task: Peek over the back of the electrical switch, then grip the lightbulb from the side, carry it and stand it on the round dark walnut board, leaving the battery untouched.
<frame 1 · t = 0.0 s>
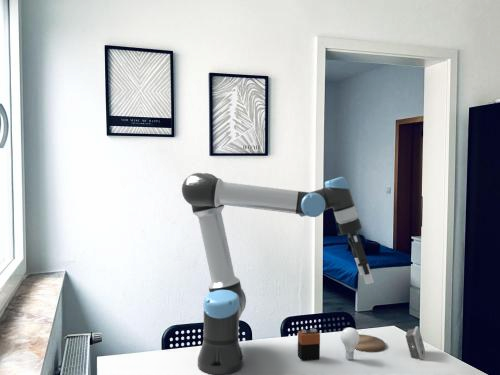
hand: (366, 278, 148), 28 cm above the table, tool tilted 20°, fingers open, 13 cm apart
lightbulb: (349, 360, 147), on the table
battery: (308, 358, 148), on the table
electrical switch: (415, 355, 153), on the table
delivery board: (364, 344, 162), on the table
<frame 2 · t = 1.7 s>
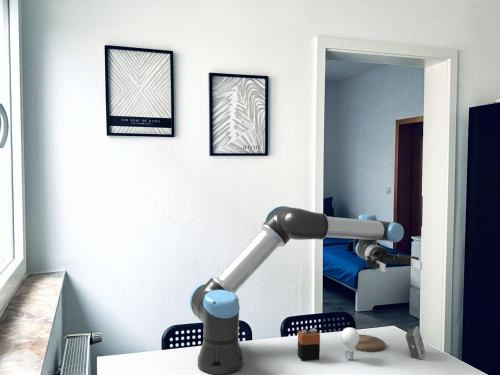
hand: (403, 267, 150), 32 cm above the table, tool horizontal, fingers open, 13 cm apart
nothing on the table moved.
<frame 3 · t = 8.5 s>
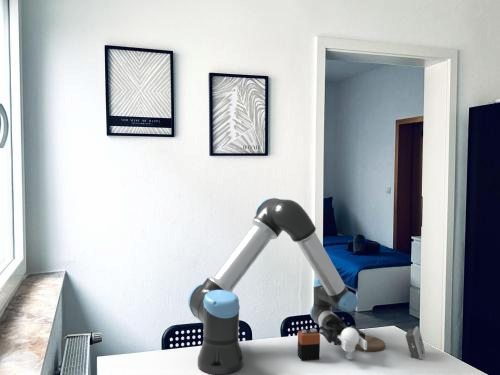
hand: (356, 346, 142), 7 cm above the table, tool horizontal, fingers closed on lightbulb, 6 cm apart
lightbulb: (349, 360, 147), on the table, touching gripper
everything else where it was.
when the fingers open (8 cm above the table, at t = 13.2 s): lightbulb moves 2 cm, resting on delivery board.
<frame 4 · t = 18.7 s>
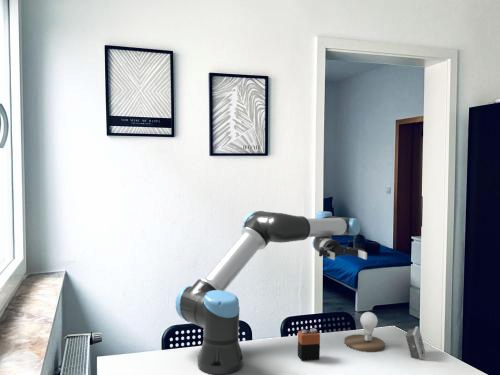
hand: (350, 256, 170), 32 cm above the table, tool horizontal, fingers open, 13 cm apart
lightbulb: (367, 341, 162), point 1 cm above the table, touching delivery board
everything else where it was.
at the end: lightbulb inside the target area on the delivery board (1.3 cm from its centre), point 0.9 cm above the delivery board's base; lightbulb tilted 3°; battery moved 0.2 cm from its start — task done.
